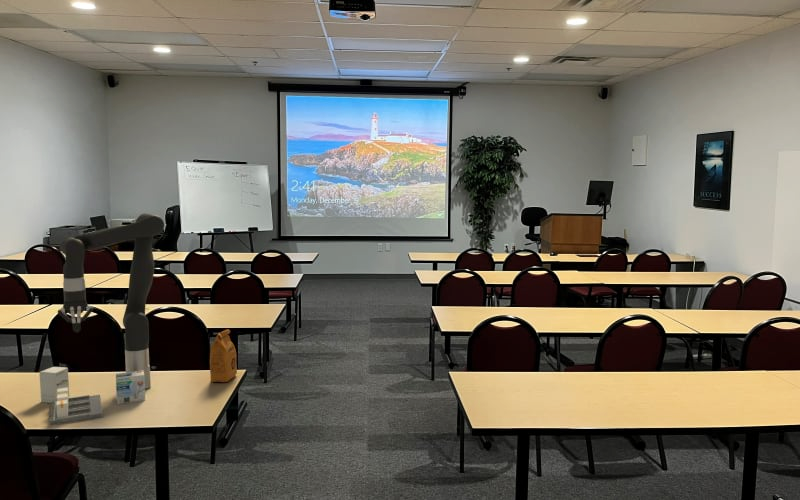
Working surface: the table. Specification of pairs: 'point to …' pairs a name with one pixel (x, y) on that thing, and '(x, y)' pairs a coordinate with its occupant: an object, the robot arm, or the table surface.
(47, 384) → the supplement box
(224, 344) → the coffee package
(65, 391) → the handle
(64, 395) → the handle
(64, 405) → the block
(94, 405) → the grey flat slotted panel
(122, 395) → the light bulb box
